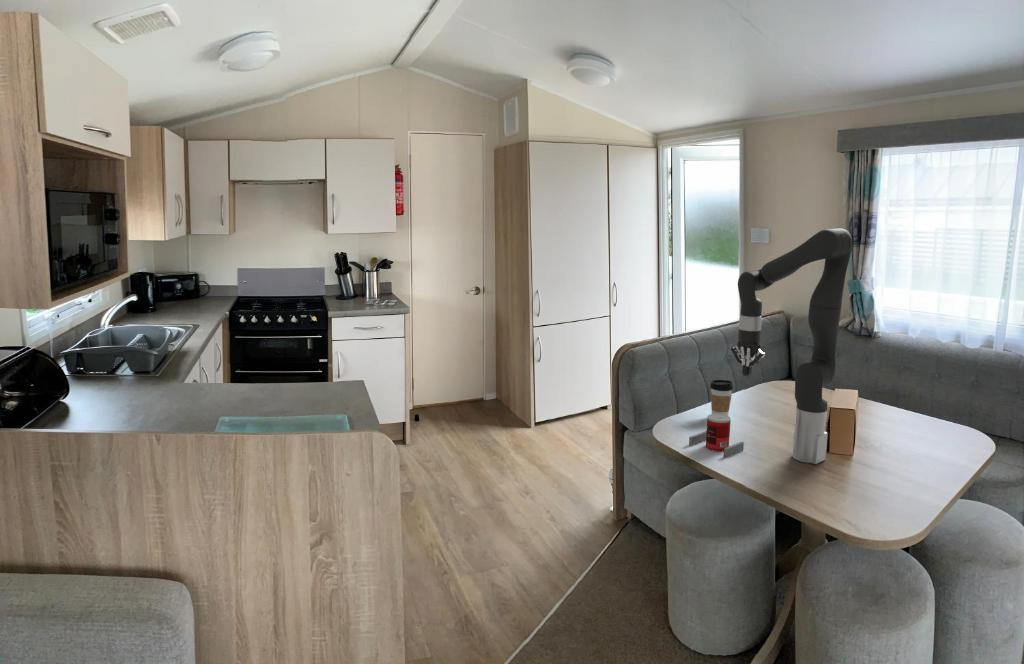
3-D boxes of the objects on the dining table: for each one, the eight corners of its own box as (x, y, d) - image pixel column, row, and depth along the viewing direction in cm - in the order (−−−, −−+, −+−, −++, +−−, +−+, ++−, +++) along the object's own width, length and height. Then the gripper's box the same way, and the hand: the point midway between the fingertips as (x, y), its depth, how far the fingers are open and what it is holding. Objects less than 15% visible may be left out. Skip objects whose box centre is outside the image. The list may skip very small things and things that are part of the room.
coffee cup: (726, 423, 266) (728, 385, 263) (705, 419, 271) (707, 381, 268) (734, 417, 273) (736, 380, 270) (713, 413, 278) (715, 377, 275)
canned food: (731, 445, 244) (733, 415, 242) (725, 453, 237) (727, 422, 235) (708, 442, 248) (710, 412, 246) (703, 449, 241) (704, 418, 239)
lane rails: (743, 450, 240) (743, 442, 239) (726, 457, 234) (726, 449, 233) (706, 438, 251) (706, 430, 251) (688, 445, 245) (689, 436, 244)
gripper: (773, 329, 243) (769, 377, 247) (739, 323, 253) (736, 370, 257) (761, 332, 239) (757, 381, 242) (727, 326, 249) (724, 373, 252)
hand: (746, 375), depth 250 cm, fingers closed
